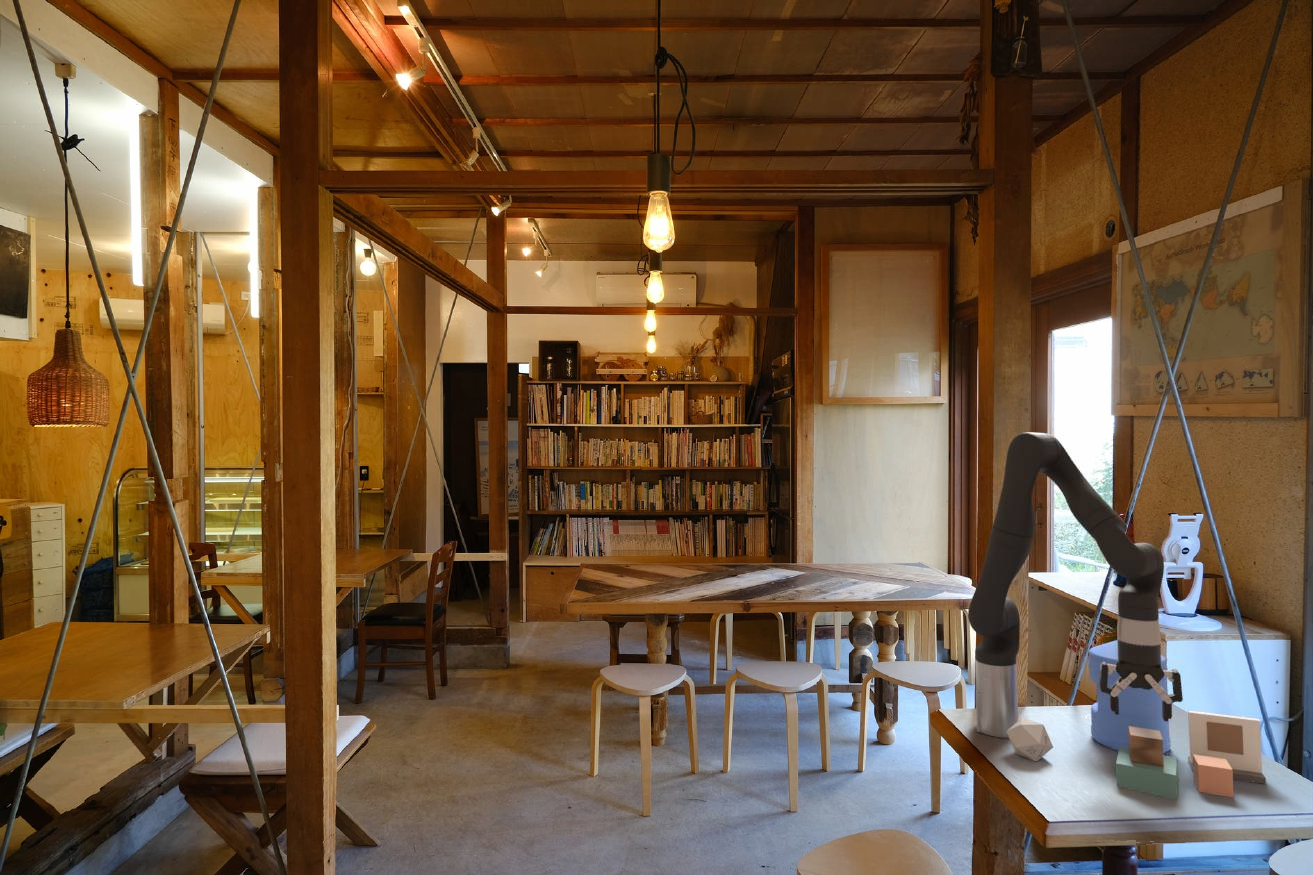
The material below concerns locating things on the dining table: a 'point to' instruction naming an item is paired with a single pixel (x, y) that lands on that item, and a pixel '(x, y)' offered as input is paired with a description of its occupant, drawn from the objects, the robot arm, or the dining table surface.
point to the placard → (1228, 742)
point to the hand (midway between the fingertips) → (1140, 716)
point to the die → (1029, 739)
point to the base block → (1147, 775)
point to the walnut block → (1145, 746)
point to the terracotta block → (1213, 775)
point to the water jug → (1124, 704)
